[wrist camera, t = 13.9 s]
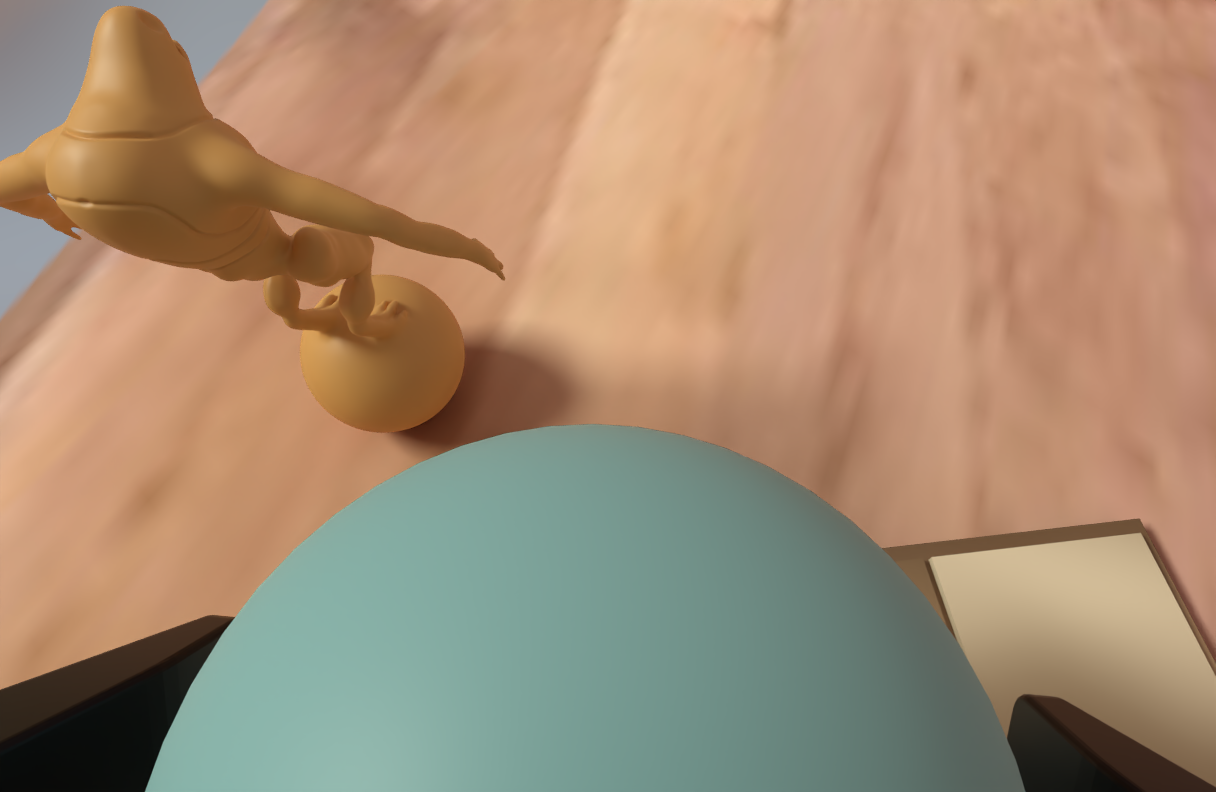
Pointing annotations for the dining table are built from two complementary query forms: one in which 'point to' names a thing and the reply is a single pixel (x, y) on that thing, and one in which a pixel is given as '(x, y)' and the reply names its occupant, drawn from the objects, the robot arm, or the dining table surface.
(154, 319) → the dining table surface
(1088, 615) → the board
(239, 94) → the dining table surface
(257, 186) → the figurine
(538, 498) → the pawn
